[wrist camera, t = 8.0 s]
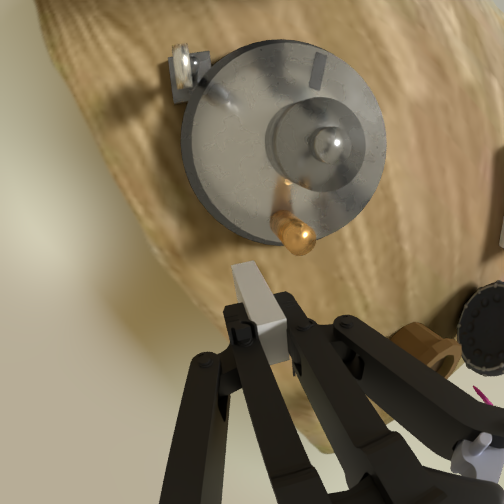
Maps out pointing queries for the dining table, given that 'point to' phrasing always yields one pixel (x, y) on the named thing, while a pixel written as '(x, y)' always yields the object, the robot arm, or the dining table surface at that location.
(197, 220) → the dining table surface
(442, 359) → the flowerpot
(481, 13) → the dining table surface
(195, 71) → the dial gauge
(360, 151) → the cover
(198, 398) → the robot arm
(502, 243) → the parts crate
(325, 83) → the turntable
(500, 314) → the dark decorated bowl
